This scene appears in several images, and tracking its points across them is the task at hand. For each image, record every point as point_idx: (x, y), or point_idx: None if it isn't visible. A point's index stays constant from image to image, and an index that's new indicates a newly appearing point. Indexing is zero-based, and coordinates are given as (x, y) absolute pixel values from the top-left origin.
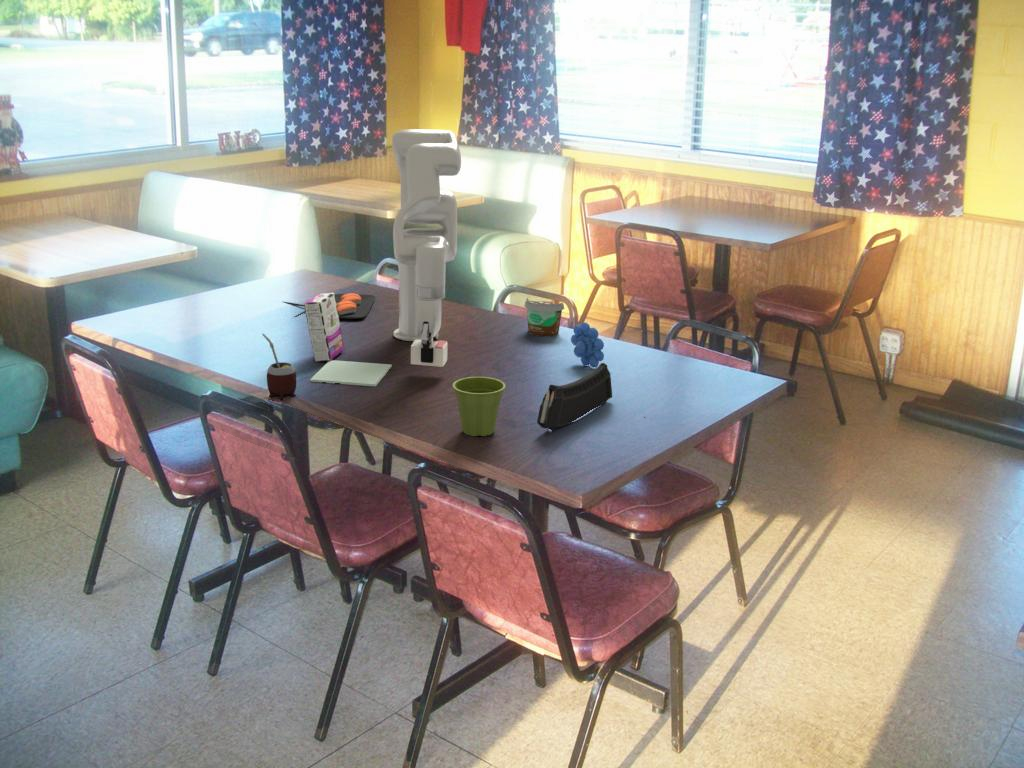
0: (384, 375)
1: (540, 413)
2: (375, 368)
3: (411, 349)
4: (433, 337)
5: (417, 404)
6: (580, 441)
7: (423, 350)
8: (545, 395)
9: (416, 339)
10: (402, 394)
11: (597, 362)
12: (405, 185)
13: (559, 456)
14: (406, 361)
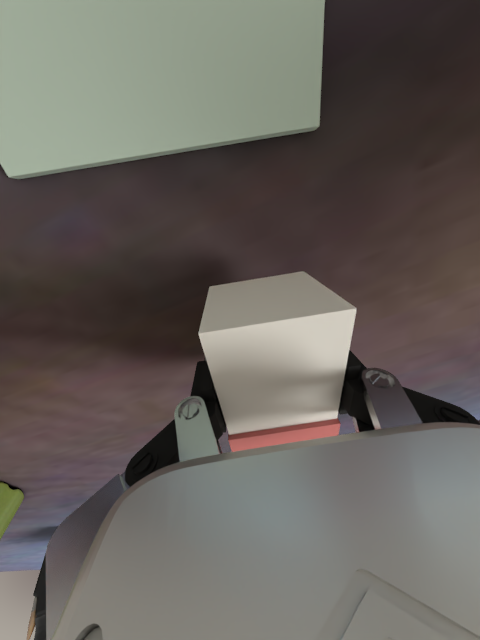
0: (179, 152)
1: (39, 574)
2: (230, 41)
3: (203, 322)
4: (359, 412)
5: (6, 378)
6: None
7: (192, 395)
8: (35, 619)
9: (354, 314)
10: (38, 315)
11: None
12: None
13: (17, 547)
14: (397, 173)
